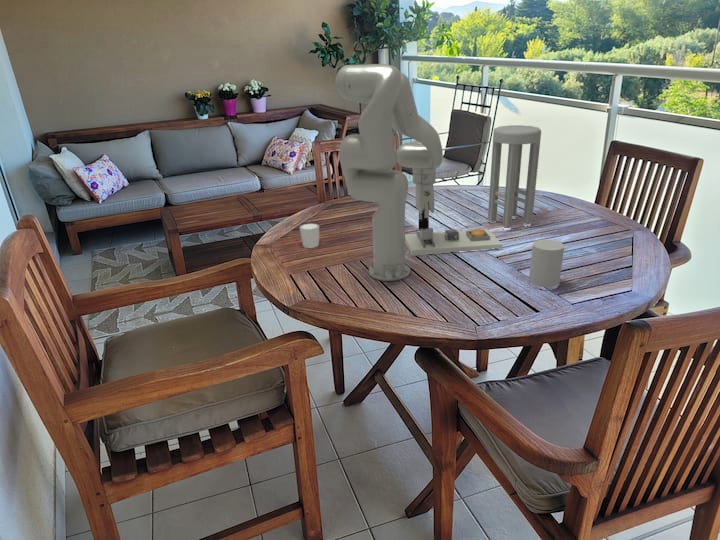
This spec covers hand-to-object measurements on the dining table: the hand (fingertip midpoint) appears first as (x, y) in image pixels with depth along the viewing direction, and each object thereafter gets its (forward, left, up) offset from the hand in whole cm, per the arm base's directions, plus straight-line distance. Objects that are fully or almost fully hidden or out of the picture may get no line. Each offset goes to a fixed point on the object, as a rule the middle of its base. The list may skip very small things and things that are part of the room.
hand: (423, 230), depth 178 cm
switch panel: (-4, -9, -5) cm, 11 cm away
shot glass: (+5, +39, -5) cm, 40 cm away
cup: (-38, -27, -5) cm, 47 cm away
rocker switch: (-4, -9, -1) cm, 10 cm away
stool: (+13, -35, -5) cm, 37 cm away
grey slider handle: (-6, 0, -3) cm, 6 cm away
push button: (-4, -18, -2) cm, 18 cm away
